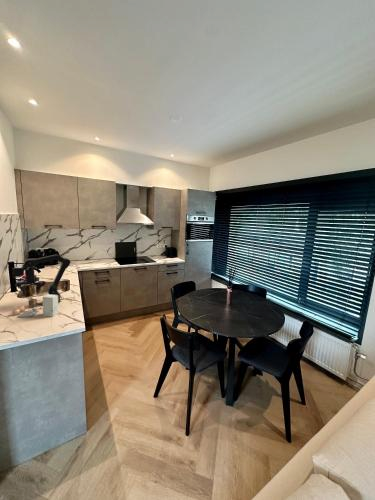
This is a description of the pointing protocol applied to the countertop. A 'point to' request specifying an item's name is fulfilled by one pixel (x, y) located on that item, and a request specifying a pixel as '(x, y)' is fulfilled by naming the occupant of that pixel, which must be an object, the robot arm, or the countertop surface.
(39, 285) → the robot arm
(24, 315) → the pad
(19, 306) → the peach rounded capsule
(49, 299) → the skincare box
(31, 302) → the walnut block
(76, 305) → the countertop surface
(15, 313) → the peach capsule shape
